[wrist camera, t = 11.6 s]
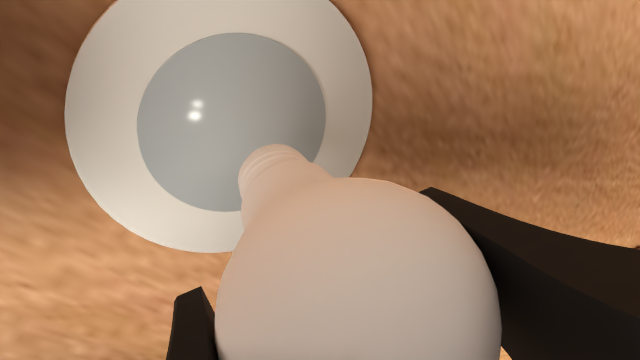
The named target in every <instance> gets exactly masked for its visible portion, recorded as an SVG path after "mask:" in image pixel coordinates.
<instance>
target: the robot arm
mask: <svg viewBox="0 0 640 360" xmlns="http://www.w3.org/2000/svg"><path fill="white" fill-rule="evenodd" d="M418 193H420V194H422V195H425V196H427V197H429V198H430V199H431V200H433V201H434V202H436V203H437V204H438V205H440V206H441V207H443V208H444V209H445V210H446V211H447V212H449V213H450V214H451V215H452V216H453V217H454V218H456V219H457V220H458V221H459V222H460V224H461V225H462V226H463V227H464V229H465V230H466V231H467V233H468V234H469V235H470V236H471V238H472V239H473V241H474V242H475V244H476V245H477V247H478V248H479V249H480V251H481V252H482V254H483V257H484V259H485V261H486V264H487V266H488V268H489V270H490V273H491V275H492V278H493V280H494V283H495V285H496V288H497V292H498V300H499V307H500V315H501V325H502V334H501V346H502V347H503V349H504V350H505V351H506V352H507V353H508V355H509V356H510V357H511V359H512V360H640V250H638V249H632V248H627V247H621V246H616V245H610V244H605V243H600V242H595V241H591V240H587V239H582V238H578V237H574V236H570V235H566V234H562V233H559V232H555V231H551V230H548V229H545V228H541V227H538V226H535V225H532V224H529V223H526V222H522V221H520V220H517V219H514V218H511V217H508V216H505V215H502V214H500V213H497V212H494V211H492V210H489V209H486V208H484V207H481V206H479V205H476V204H474V203H471V202H469V201H466V200H464V199H461V198H459V197H456V196H454V195H451V194H449V193H446V192H443V191H441V190H438V189H436V188H433V187H430V188H427V189H425V190H423V191H420V192H418ZM166 360H219V359H218V354H217V349H216V344H215V313H214V311H213V309H212V307H211V305H210V303H209V301H208V299H207V297H206V295H205V293H204V291H203V289H202V287H201V286H200V287H198V288H196V289H193V290H191V291H189V292H186V293H184V294H182V295H179V296H177V298H176V299H175V301H174V312H173V321H172V329H171V335H170V341H169V347H168V352H167V357H166Z"/></svg>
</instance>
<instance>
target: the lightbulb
mask: <svg viewBox="0 0 640 360" xmlns="http://www.w3.org/2000/svg"><path fill="white" fill-rule="evenodd" d="M238 185H239V190H240V195H241V198H242V205H241V218H242V223H243V227H244V233H243V234H242V235H241V237H240V239H239V241H238V243H237V245H236V247H235V249H234V251H233V253H232V255H231V257H230V259H229V261H228V263H227V265H226V268H225V270H224V272H223V274H222V277H221V281H220V285H219V289H218V293H217V300H216V309H215V344H216V349H217V354H218V359H219V360H499V357H500V349H501V334H502V325H501V315H500V307H499V300H498V292H497V288H496V285H495V283H494V280H493V278H492V275H491V273H490V270H489V268H488V266H487V264H486V261H485V259H484V257H483V254H482V252H481V251H480V249H479V248H478V247H477V245H476V244H475V242H474V241H473V239H472V238H471V236H470V235H469V234H468V233H467V231H466V230H465V229H464V227H463V226H462V225H461V224H460V222H459V221H458V220H457V219H456V218H454V217H453V216H452V215H451V214H450V213H449V212H447V211H446V210H445V209H444V208H443V207H441V206H440V205H438V204H437V203H436V202H434V201H433V200H431V199H430V198H429V197H427V196H425V195H422V194H420V193H418V192H416V191H413V190H411V189H409V188H406V187H403V186H401V185H398V184H396V183H393V182H390V181H386V180H378V179H371V178H354V177H343V178H333V177H332V176H331V175H330V174H329V173H328V172H327V171H326V170H325V169H323V168H322V167H320V166H318V165H317V164H314V163H311V162H309V161H308V160H307V159H306V158H305V157H304V156H303V155H302V154H301V153H299V152H298V151H297V150H295V149H294V148H292V147H290V146H287V145H283V144H270V145H266V146H263V147H261V148H258V149H257V150H255V151H254V152H252V153H251V154H250V155H249V156H248V157H247V158H246V159H245V161H244V162H243V164H242V166H241V168H240V170H239V174H238Z"/></svg>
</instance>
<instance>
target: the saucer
mask: <svg viewBox="0 0 640 360" xmlns="http://www.w3.org/2000/svg"><path fill="white" fill-rule="evenodd" d="M371 114H372V84H371V77H370V71H369V67H368V64H367V60H366V56H365V54H364V51H363V49H362V46H361V44H360V42H359V39H358V38H357V36H356V34H355V32H354V31H353V29H352V27H351V26H350V24H349V22H348V21H347V20H346V19H345V17H344V16H343V15H342V14H341V12H340V11H339V10H338V9H337V8H336V7H335V6H334V5H333V4H332V3H331V2H330V1H329V0H115V1H114V2H113V3H112V4H111V5H110V6H109V7H108V8H107V9H106V10H105V11H104V13H103V14H102V15H101V16H100V17H99V18H98V19H97V21H96V22H95V23H94V24H93V26H92V28H91V29H90V31H89V32H88V34H87V35H86V37H85V39H84V40H83V42H82V44H81V46H80V49H79V51H78V53H77V55H76V58H75V60H74V62H73V66H72V70H71V74H70V77H69V81H68V85H67V90H66V100H65V111H64V116H65V132H66V138H67V143H68V147H69V152H70V155H71V158H72V161H73V163H74V166H75V168H76V171H77V173H78V175H79V177H80V179H81V180H82V182H83V184H84V185H85V187H86V189H87V191H88V192H89V193H90V194H91V196H92V197H93V198H94V199H95V201H96V202H97V203H98V205H99V206H100V207H101V208H102V209H103V210H104V211H105V212H107V213H108V214H109V215H110V216H111V217H112V218H113V219H114V220H115V221H117V222H118V223H120V224H121V225H122V226H124V227H125V228H127V229H128V230H129V231H131V232H133V233H135V234H137V235H139V236H141V237H142V238H144V239H147V240H149V241H152V242H154V243H157V244H160V245H162V246H166V247H170V248H174V249H178V250H184V251H191V252H203V253H218V252H231V251H234V249H235V247H236V245H237V243H238V241H239V239H240V237H241V235H242V234H243V233H244V227H243V223H242V218H241V205H242V198H241V195H240V190H239V185H238V174H239V170H240V168H241V166H242V164H243V162H244V161H245V159H246V158H247V157H248V156H249V155H250V154H251V153H252V152H254V151H255V150H257V149H258V148H261V147H263V146H266V145H270V144H283V145H287V146H290V147H292V148H294V149H295V150H297V151H298V152H299V153H301V154H302V155H303V156H304V157H305V158H306V159H307V160H308V161H309V162H311V163H314V164H317V165H318V166H320V167H322V168H323V169H325V170H326V171H327V172H328V173H329V174H330V175H331V176H332V177H333V178H343V177H350V175H351V173H352V172H353V170H354V168H355V166H356V164H357V162H358V160H359V158H360V156H361V154H362V151H363V148H364V145H365V143H366V140H367V136H368V131H369V127H370V123H371Z"/></svg>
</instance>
